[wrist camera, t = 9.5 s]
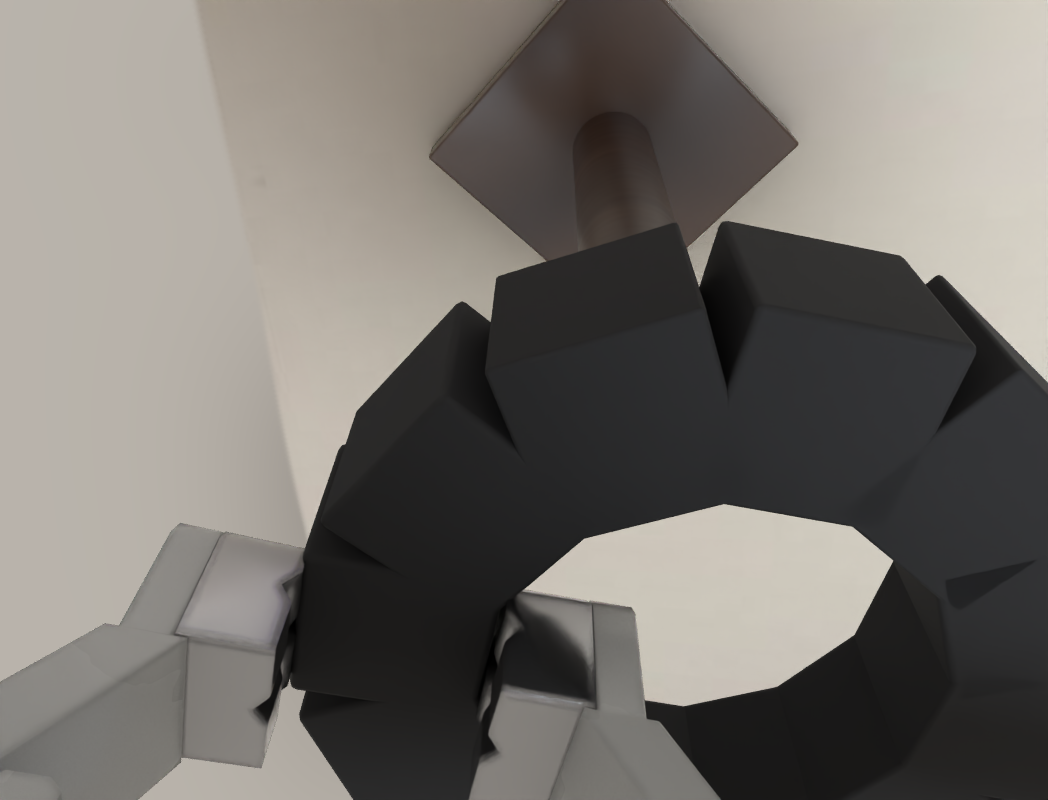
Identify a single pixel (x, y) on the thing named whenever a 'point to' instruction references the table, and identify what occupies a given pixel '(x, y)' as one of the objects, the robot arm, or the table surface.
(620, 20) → the post
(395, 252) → the table surface
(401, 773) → the ring
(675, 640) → the table surface
